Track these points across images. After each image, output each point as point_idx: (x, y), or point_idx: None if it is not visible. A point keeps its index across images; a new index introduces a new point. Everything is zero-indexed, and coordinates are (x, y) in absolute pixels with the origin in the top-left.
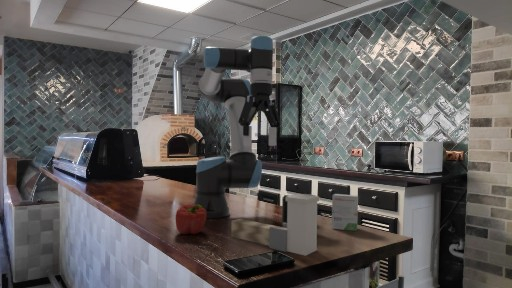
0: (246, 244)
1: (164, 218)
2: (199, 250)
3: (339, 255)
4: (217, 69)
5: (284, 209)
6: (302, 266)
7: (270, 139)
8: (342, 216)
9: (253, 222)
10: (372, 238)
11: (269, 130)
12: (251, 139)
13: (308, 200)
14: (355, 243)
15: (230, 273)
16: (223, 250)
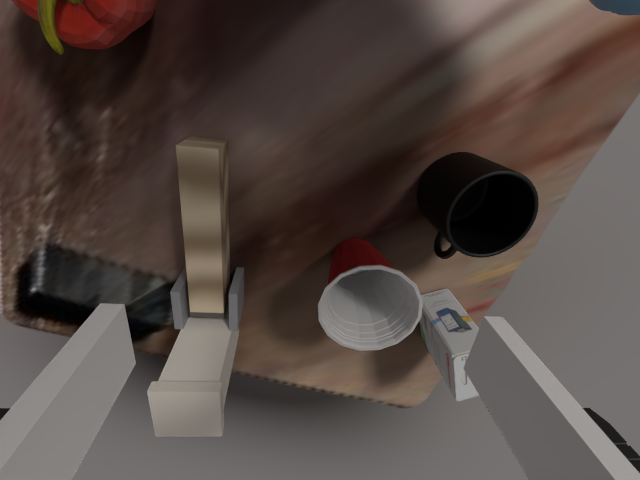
0: (166, 212)
1: None
2: (35, 151)
3: (242, 367)
4: None
5: (438, 185)
6: (147, 350)
7: (512, 378)
8: (429, 336)
9: (209, 211)
10: (380, 371)
11: (599, 475)
12: (104, 417)
13: (165, 433)
14: (328, 362)
15: (16, 288)
16: (88, 198)
